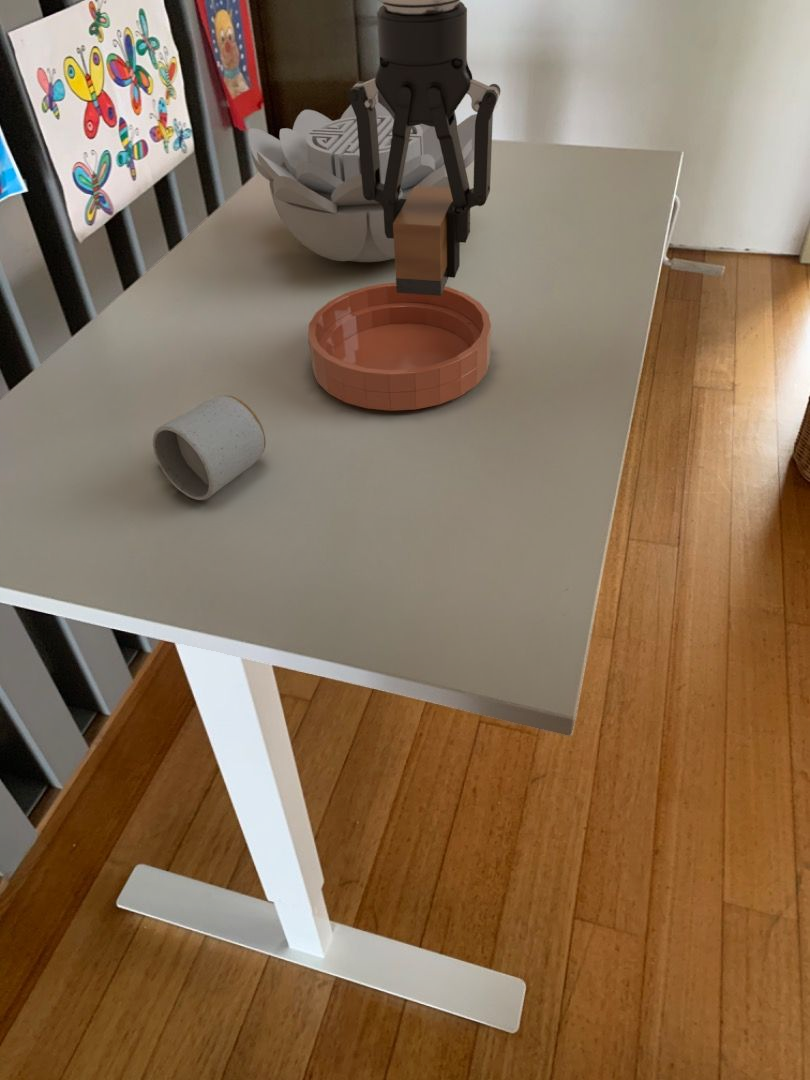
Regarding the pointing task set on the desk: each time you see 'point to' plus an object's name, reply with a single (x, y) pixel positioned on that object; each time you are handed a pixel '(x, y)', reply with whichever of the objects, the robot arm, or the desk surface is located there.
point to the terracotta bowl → (399, 347)
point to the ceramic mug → (209, 446)
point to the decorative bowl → (344, 179)
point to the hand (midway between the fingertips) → (428, 269)
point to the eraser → (422, 241)
